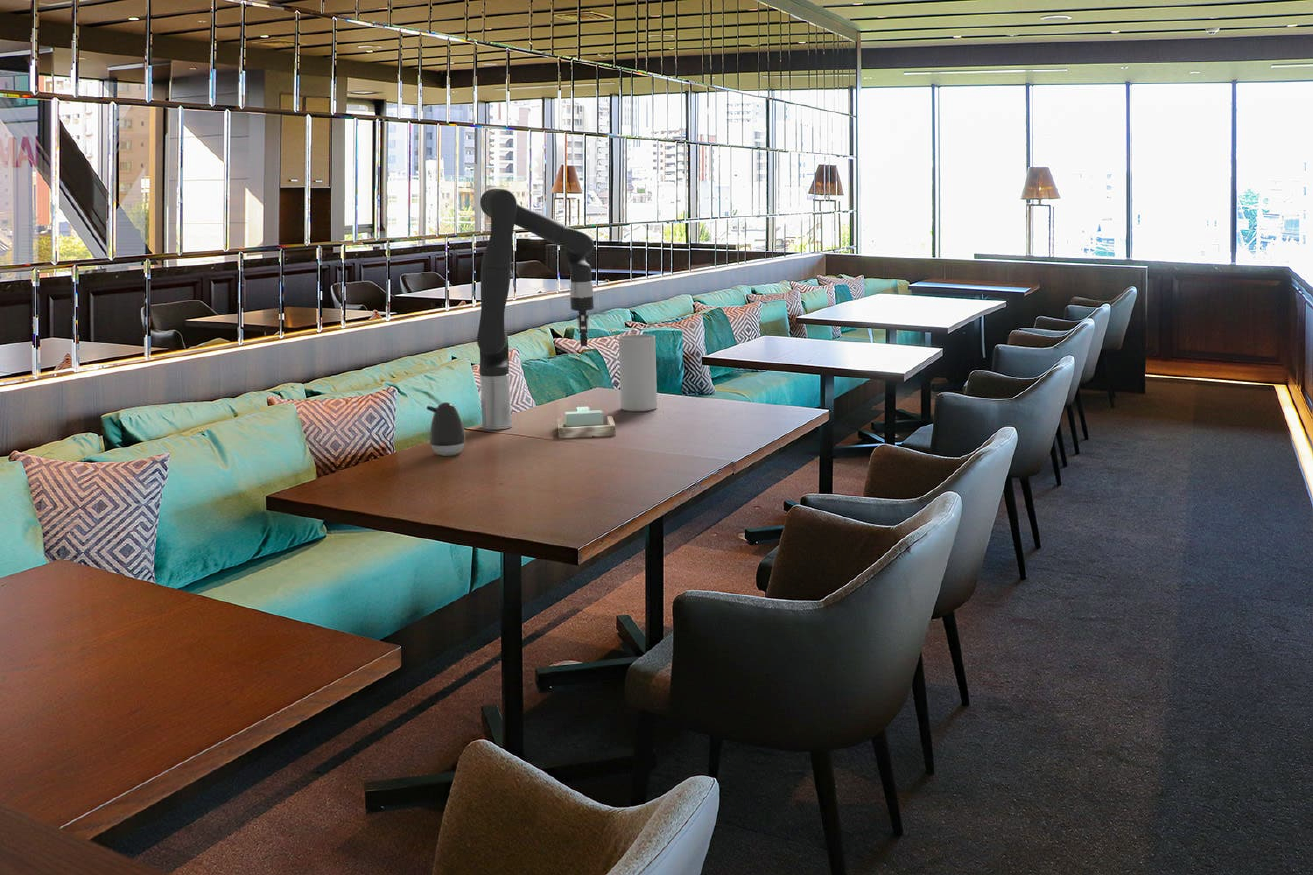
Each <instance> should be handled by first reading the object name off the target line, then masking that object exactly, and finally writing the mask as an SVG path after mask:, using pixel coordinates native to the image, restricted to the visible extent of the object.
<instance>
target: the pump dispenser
mask: <svg viewBox="0 0 1313 875" xmlns="http://www.w3.org/2000/svg"><path fill="white" fill-rule="evenodd" d="M426 410H427V411H430V412H432V413H433V416H432V419H431V423H430V427H429V444H430V445H431V446H430V447H431V449H432V450H433V452H434V453H436V454H437V455H438V456H441V455H442V457H451V456H452V455H453V456H457V455H458V454H459V453H461V452H462V451H463V450H464V446H465V442H466V433H465V429H464V428H465V427H464V424H463V421H462V418H461V417H460V414H459V413H458V410H457V408H456V407H455V406H454V404H452V403H450V402H442V403H440V404H438V405H437V407H434V406H430V405H427V406H426Z"/></svg>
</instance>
